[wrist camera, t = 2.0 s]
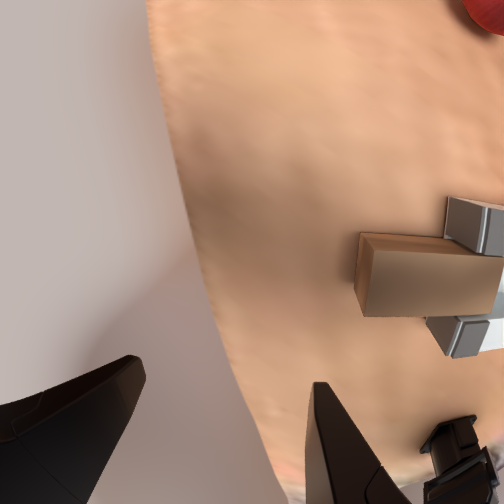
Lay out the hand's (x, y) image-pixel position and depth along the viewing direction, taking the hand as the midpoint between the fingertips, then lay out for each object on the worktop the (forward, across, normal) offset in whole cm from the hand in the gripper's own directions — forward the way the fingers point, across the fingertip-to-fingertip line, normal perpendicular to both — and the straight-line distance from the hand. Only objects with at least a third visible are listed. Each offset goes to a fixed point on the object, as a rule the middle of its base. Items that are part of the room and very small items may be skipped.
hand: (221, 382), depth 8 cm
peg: (+12, -11, 0) cm, 16 cm away
